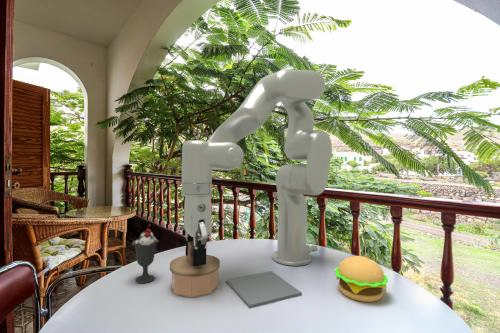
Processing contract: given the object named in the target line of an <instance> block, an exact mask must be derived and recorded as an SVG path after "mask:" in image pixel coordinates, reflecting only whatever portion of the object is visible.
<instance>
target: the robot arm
mask: <svg viewBox="0 0 500 333" xmlns="http://www.w3.org/2000/svg"><path fill="white" fill-rule="evenodd" d="M325 91H326V81H325V79H324V76H323V75H322V74H321V73H320V72H318V71H316V70H312V69H295V68H294V69H293V68H292V69H291V68H288V69H287V68H286V69H281V70H277V71H275V72H273V73H269V74H267V75H266V76H264V77H261V79H260V80H258V81H257V82H256V84H255V85H254V87H253V88H252V89H251V91H250V92H249V93H248V95H247V96H246V97H245V99H244V100H243V102H242V103H241V104H240V106H239V107H238V108H237V109H236V111H234V112H233V113H232V114H231V115H230V116H229V117H228V118H227V119H226V120H225V121H223V123H221V125H219V126H218V127H217V128H216V129H215V131H213V133H212V134H211V135H210V137H209V138H208V139H207V141H206V140H187V141H185V142H183V144H182V149H181V191H180V193H181V194H180V195H181V197H184V209H183V212H184V213H183V225H184V226H183V228H184V231H185V234H186V235H185V254H184V255H186V256H188V242H189V241H194V249H193V266H200V265H205V264H206V255H207V246H208V245H207V243H208V238H209V237H211V236H212V233H213V232H212V231H213V230H212V229H213V228H212V226H213V225H212V206H211V196H212V194H213V193H212V192H213V191H212V189H213V188H212V187H213V186H212V185H213V184H212V181H213V170H216V171H217V170H220V171H232V170H235V169H237V168H239V167H240V166H241V165H242V163H243V161H244V158H245V156H244V155H245V154H244V151H243V148H242V147H241V146H240V145H238V144H237V143H238V142H239V141H241V140H242V139H244V138H246V137H247V136H249V135H252V134H253V133H255V132H256V131H258V130H259V129H261V127H263V126H264V124H265V122H266V120H267V119H268V117H270V114H271V113H272V112H273V110H274V109H275V107H276V106H277V104H278V103H281V104H282V105H283V106H282V107H284V110H285V111H286V112H287V116H288V124H287V126H288V127H287V132H286V138H285V142H284V143H285V144H284V153H285V156H286V158H288V159H289V160H292V161H306V163H288V164H284V165H282V166H281V167H279V168H278V170H277V171H276V174H275V185H276V191H277V192H276V193H277V205H278V206H277V244H276V246H277V249H276V251H274V252H273V253H272V259H273V261H275V262H277V263H279V264H280V265H281V264H282V265H284V266H291V267H292V266H294V267H296V266H297V267H298V266H299V267H300V266H305V265H308V264H310V263H311V261H312V256H311V255H310V253H311V252H312V253H314V252H317V251H318V250H319V248H318V245H311V246H310V244H307V237H308V236H307V234H308V232H307V230H308V228H307V227H308V204H307V201H306V200H307V199H306V198H305V196H304V195H307V196H308V195H309V196H319V195H321V194H322V193H323V192H324V191H325V190H326V188H327V185H328V180H329V175H330V174H329V173H330V169H331V168H330V167H331V166H330V165H331V160H332V153H333V145H332V140H331V138H330V135H329V134H328V133H327V132H326V131H324V130H321V129H314V125H315V116H314V113H313V111H312V110H311V109H310V107H309V106H308V105H307V104H306V103H307V102H310V101H315V100H318V99H319V98H321V97H322V96H323V95H324V92H325ZM198 240H199V241H198ZM197 241H198V243H197Z"/></svg>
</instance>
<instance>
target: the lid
mask: <svg viewBox="0 0 500 333" xmlns="http://www.w3.org/2000/svg"><path fill="white" fill-rule="evenodd" d="M199 240H200V239H198V241H199ZM198 241H197V243H198ZM193 249H194V241H189V242H188V256H186V254H184V255H182V256H179V257H176V258H174V259H172V260H171V261H170V263H169V271H170V272H171V274H172V273H174V274H176V275H180V276H187V277H194V276H203V275H207V274H210V273H213V272H215V271H216V270H218V271H219V269H220V267H221V260H220V259H219V258H218V257H217V256H214V255H211V254H206V264H205V265H200V266H193Z"/></svg>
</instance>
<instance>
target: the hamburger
mask: <svg viewBox="0 0 500 333" xmlns="http://www.w3.org/2000/svg"><path fill="white" fill-rule="evenodd" d="M334 273H335V275H336V280H339V281H338V284H337V285H338V289H339V290H340V292H341V293H342V294H343V295H344V296H346V297H348V298H350V299H352V300H354V301H358V302H363V303H373V302H377V301H380V300H381V299H382V298H383V296H384V291H385V292H386V291H387V288H388V287H387V283H388V282H389V280H388V276H387V275H386V274H384V273H385V272H384V271H383V269H382V267H381V266H380V265H379V264H378V263H377V262H376V261H375V260H373V259H370V258H368V257H365V256H362V255H361V256H360V255H353V256H348V257H346V258H344V259H342V260H341V261H340V263H339V265H338V266H337V267H335V270H334Z"/></svg>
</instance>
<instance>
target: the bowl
mask: <svg viewBox="0 0 500 333" xmlns="http://www.w3.org/2000/svg"><path fill="white" fill-rule="evenodd" d="M170 286H171V290H172V292H173V293H174V295H177V296H182V297H186V298H195V297H201V296H205V295H210V294H211V293H212V292H214V291H215V289H217V288H218V287H219V269H218V270H216V271H215V272H213V273H210V274H207V275H203V276H194V277H187V276H180V275H176V274H174V273H172V272H171V285H170Z"/></svg>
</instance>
